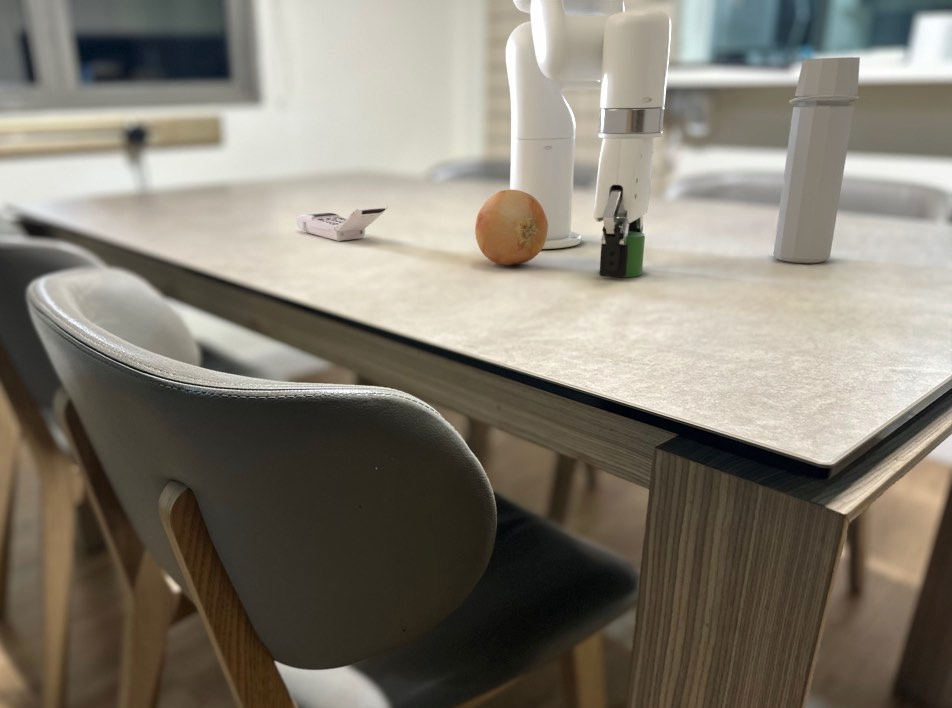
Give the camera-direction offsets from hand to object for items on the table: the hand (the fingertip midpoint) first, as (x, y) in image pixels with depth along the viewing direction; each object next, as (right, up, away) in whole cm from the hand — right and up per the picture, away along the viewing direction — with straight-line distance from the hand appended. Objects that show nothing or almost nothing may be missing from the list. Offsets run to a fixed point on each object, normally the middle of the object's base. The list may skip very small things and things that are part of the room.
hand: (620, 269), depth 104 cm
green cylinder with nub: (0, -1, 0) cm, 1 cm away
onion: (-13, +2, +7) cm, 15 cm away
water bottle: (+26, +2, +6) cm, 27 cm away
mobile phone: (-39, +11, +33) cm, 53 cm away
